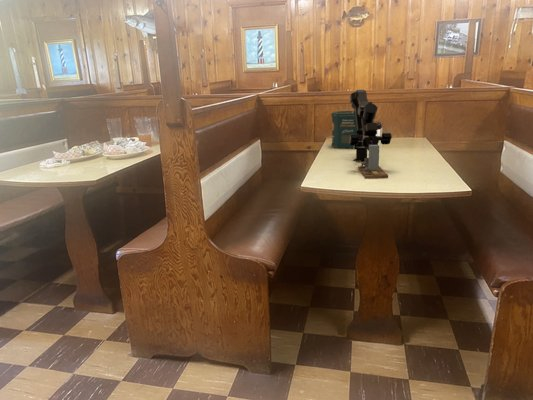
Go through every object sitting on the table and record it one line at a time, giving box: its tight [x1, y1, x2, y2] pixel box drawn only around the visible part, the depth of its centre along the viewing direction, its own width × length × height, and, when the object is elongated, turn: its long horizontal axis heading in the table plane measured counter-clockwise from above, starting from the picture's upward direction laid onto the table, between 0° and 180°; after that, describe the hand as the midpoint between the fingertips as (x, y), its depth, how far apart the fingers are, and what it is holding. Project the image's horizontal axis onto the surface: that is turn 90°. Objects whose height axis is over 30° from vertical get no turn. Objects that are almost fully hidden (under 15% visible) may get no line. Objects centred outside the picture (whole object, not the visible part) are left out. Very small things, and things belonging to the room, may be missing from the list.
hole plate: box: [357, 157, 389, 179], centre depth 199 cm, size 20×10×5 cm, turn 178°
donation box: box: [331, 109, 357, 150], centre depth 264 cm, size 16×16×28 cm
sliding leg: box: [365, 144, 380, 171], centre depth 195 cm, size 3×6×12 cm, turn 88°
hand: (372, 154), depth 198 cm, fingers closed
